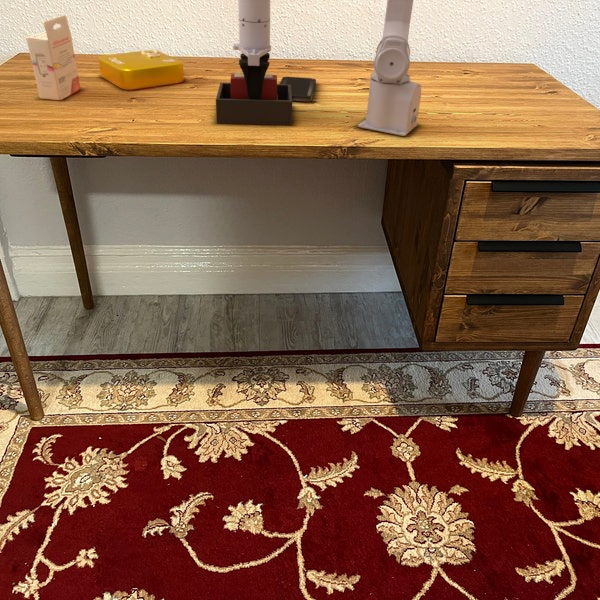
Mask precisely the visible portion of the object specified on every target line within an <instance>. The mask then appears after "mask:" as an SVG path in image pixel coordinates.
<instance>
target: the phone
mask: <svg viewBox="0 0 600 600" xmlns="http://www.w3.org/2000/svg"><path fill="white" fill-rule="evenodd" d="M279 84H289V85H291V93H292V102H300V103H301V102H302V103H310V102H312V101H313V97H314V93H315V90H316V86H317V79H316V78H312V77H299V76H297V77H296V76H282V78H281V80H280V82H279Z"/></svg>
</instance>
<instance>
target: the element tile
mask: <svg viewBox="0 0 600 600" xmlns="http://www.w3.org/2000/svg"><path fill="white" fill-rule="evenodd" d="M98 67H99V72H100V73H99V74H100V77H101V78H102V79H105V80H106V81H108V82H110V83H111V84H113V85H115V86H117V87H118V88H120V89H121V90H124V91H125V90H126V91H135V90H141V89H148V88H155V87H161V86H169V85H176V84H181V83H183V82H184V81H185V77H184V75H185V74H184V63H183V61H182V60H180V59H177V58H175V57H173V56H170V55H168V54H165V53H163V52H162V51H159V50H157V49H145V50H140V51H130V52H121V53H111V54H103V55H99V56H98Z"/></svg>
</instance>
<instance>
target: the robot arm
mask: <svg viewBox="0 0 600 600" xmlns="http://www.w3.org/2000/svg"><path fill="white" fill-rule="evenodd" d="M237 4H238V43H233V44H232V50H235V51H239V52H240V55H239V57H240V58H239V60H238V65H239V67H240V70H241V72H242V74H244V77H245V81H246V86H247V92H248V96H249V99H260V97H261V93H262V86H263V80H264V77H265V74H267V71H268V69H269V67H270V61H269V60H270V59H271V55H270V52H271V51H272V46H271V0H238V1H237ZM413 6H414V0H387V1H386V9H385V17H384V24H383V31H382V37H381V40H380V41H379V42H378V45H377V47H376V50H375V55H374V59H373V69H374V71H372V72H371V73H370V78H369V90H368V97H367V98H368V99H367V108H366V109H367V110H366V118H365V119H364V120H363V121H361V122H360V123H358V124H357V127H358V128H361V129H366V130H371V131H375V132H376V131H377V132H381V133H386V134H391V135H396V136H402V137H405V136H407V135H408V134H409V133H410V132H411V131H412V130H414V129H415V128H416V127H417V126H418V117H419V111H420V104H421V98H422V85H421V83H419V82H415V81H412V80H411V75H410V74H409V73H408V72H409V70H410V65H411V59H410V58H411V56H410V55H411V47H410V44H409V34H410V24H411V19H412V12H413Z"/></svg>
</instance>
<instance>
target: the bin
mask: <svg viewBox="0 0 600 600" xmlns="http://www.w3.org/2000/svg"><path fill="white" fill-rule="evenodd" d="M218 86H219V87H218V90H217V93H216V98H215V112H216V113H215V115H216V124H221V125H222V124H223V125H225V124H226V125H227V124H228V125H263V126H264V125H266V126H267V125H268V126H292V124H293V123H292V122H293V101H292V93H291V85H289V84H280V83H277V95H278V100H250V99H231V82H220V83H219V85H218Z"/></svg>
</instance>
